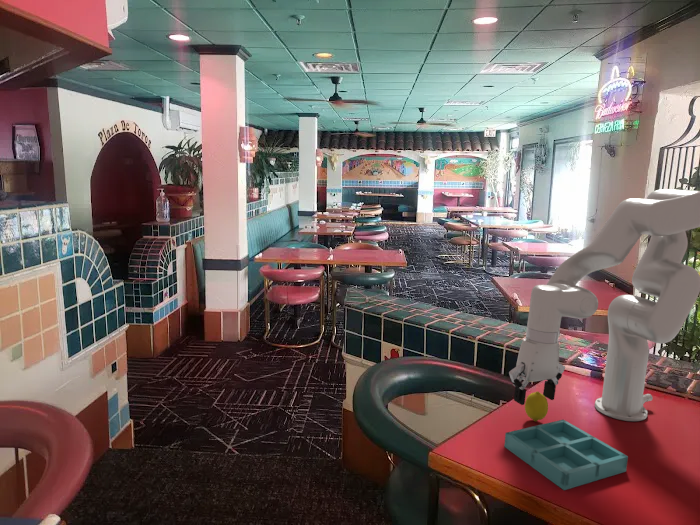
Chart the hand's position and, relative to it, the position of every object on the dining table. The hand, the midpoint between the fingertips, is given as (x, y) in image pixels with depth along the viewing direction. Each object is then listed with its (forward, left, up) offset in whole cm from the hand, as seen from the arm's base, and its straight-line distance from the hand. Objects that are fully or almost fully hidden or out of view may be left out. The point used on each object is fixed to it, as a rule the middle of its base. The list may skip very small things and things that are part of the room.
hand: (533, 400), depth 132 cm
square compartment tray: (+6, +16, -6) cm, 18 cm away
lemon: (-1, 0, -6) cm, 6 cm away
